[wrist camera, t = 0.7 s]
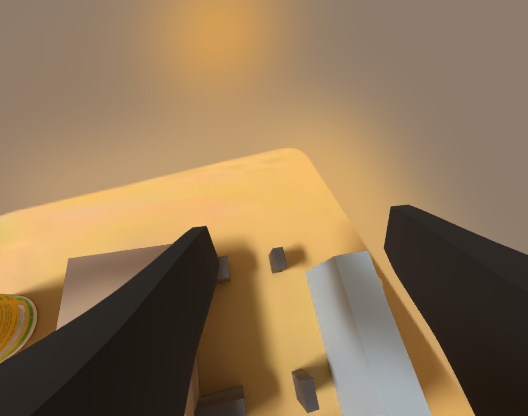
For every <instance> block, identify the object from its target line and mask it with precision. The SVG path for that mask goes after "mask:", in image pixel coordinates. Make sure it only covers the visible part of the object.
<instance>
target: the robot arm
mask: <svg viewBox="0 0 528 416" xmlns="http://www.w3.org/2000/svg"><path fill="white" fill-rule="evenodd" d="M384 250H385V252H386V254H387V256H388V259H389V261H390V263H391V265H392V267H393V269H394V271H395V273H396V275H397V276H398V278H399V280H400V281H401V283H402V284H403V286H404V288H405V289H406V291H407V292H408V294H409V295H410V297H411V299H412V300H413V302H414V303H415V305H416V307H417V308H418V310H419V311H420V313H421V314H422V316H423V318H424V319H425V321H426V322H427V324H428V325H429V327H430V329H431V330H432V332H433V333H434V335H435V337H436V339H437V340H438V342H439V344H440V346H441V348H442V350H443V352H444V353H445V355H446V357H447V359H448V361H449V363H450V365H451V367H452V369H453V371H454V373H455V375H456V377H457V379H458V381H459V383H460V385H461V387H462V389H463V391H464V393H465V395H466V397H467V399H468V401H469V404H470V406H471V408H472V410H473V412H474V414H475V416H528V255H527V254H524V253H521V252H519V251H516V250H514V249H511V248H509V247H506V246H504V245H501V244H499V243H496V242H494V241H491V240H489V239H487V238H485V237H482V236H480V235H477V234H475V233H473V232H471V231H468V230H466V229H464V228H461V227H459V226H457V225H455V224H452V223H450V222H448V221H446V220H444V219H441V218H439V217H437V216H435V215H432V214H430V213H428V212H426V211H423V210H421V209H418V208H415V207H413V206H410V205H400V206H391V209H390V214H389V220H388V226H387V232H386V238H385V244H384ZM218 269H219V260H218V257H217V254H216V251H215V248H214V245H213V243H212V240H211V237H210V234H209V231H208V229H207V226H202V227H193V228H191V229H190V230H189V231H187V232H186V233H185V234H184V235H182V236H181V237H180V238H179V239H178V240H177V241H175V242H174V243H173V244H172V245H171V246H170V247H169V248H167V249H166V250H165V251H164V252H163V253H162V254H160V255H159V256H158V257H157V258H156V259H155V260H154V261H152V262H151V263H150V264H149V265H147V266H146V267H145V268H144V269H143V270H141V271H140V272H139V273H138V274H136V275H135V276H134V277H133V278H131V279H130V280H129V281H128V282H126V283H125V284H124V285H122V286H121V287H120V288H119V289H117V290H116V291H114V292H113V293H112V294H110V295H109V296H108V297H106V298H105V299H103V300H102V301H100V302H99V303H98V304H96V305H95V306H93V307H92V308H90V309H89V310H87V311H86V312H84V313H83V314H81V315H80V316H78V317H77V318H75V319H73V320H72V321H70V322H69V323H67V324H66V325H64V326H62V327H61V328H59V329H58V330H56V331H54V332H53V333H51V334H50V335H48V336H47V337H45V338H43V339H42V340H40V341H38V342H37V343H35V344H33V345H32V346H30V347H28V348H26V349H25V350H23V351H21V352H20V353H18V354H16V355H14V356H13V357H11V358H9V359H7V360H5V361H4V362H2V363H0V416H184V415H185V409H186V404H187V398H188V392H189V387H190V381H191V376H192V372H193V367H194V362H195V357H196V352H197V348H198V344H199V340H200V337H201V334H202V330H203V327H204V324H205V320H206V317H207V314H208V310H209V307H210V303H211V300H212V297H213V293H214V290H215V286H216V281H217V275H218Z"/></svg>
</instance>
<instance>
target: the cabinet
mask: <svg viewBox="0 0 528 416" xmlns="http://www.w3.org/2000/svg"><path fill="white" fill-rule="evenodd" d="M171 245H172V244H168V245H161V246H154V247H147V248H140V249H133V250H126V251H119V252H112V253H105V254H97V255H90V256H83V257H76V258H69V259H68V264H67V270H66V276H65V281H64V287H63V293H62V299H61V304H60V310H59V316H58V322H57V328H56V330H58V329H59V328H61V327H62V326H64V325H66V324H67V323H69V322H70V321H72V320H73V319H75V318H77V317H78V316H80V315H81V314H83V313H84V312H86V311H87V310H89V309H90V308H92V307H93V306H95V305H96V304H98V303H99V302H100V301H102V300H103V299H105V298H106V297H108V296H109V295H110V294H112V293H113V292H114V291H116V290H117V289H119V288H120V287H121V286H122V285H124V284H125V283H126V282H128V281H129V280H130V279H131V278H133V277H134V276H135V275H136V274H138V273H139V272H140V271H141V270H143V269H144V268H145V267H146V266H147V265H149V264H150V263H151V262H152V261H154V260H155V259H156V258H157V257H158V256H159V255H160V254H162V253H163V252H164V251H165V250H166V249H167V248H169V247H170V246H171ZM218 260H219V269H218V275H217V281H216V283H222V282H227V281H230V277H229V269H228V261H227V256H223V257H218ZM269 260H270V265H271V270H272V273H277V272H281V271H282V270H284V269H285V268H286V267H287V265H286V260H285V256H284V251H283V247H279V248H273V249H272V251H271V252H270V254H269ZM292 375H293V380H294V385H295V390H296V395H297V399H298V401H299V402H300V403H301V405H302V406H303V408H304V409H305V410H306V412H307V413H309V412H313V411H316V410H319V405H318V400H317V396H316V392H315V387H314V383H313V378H312V377H311V376H309V375H308V374H307V373H306V372H305V371H304V370H302V369H301V370H297V371H294V372H292ZM184 416H246V409H245V401H244V393H243V386H240V387H236V388H232V389H229V390H225V391H222V392H218V393H214V394H211V395H207V396H204V397H200V395H199V377H198V359H197V352H196V357H195V362H194V367H193V372H192V376H191V381H190V387H189V392H188V398H187V404H186V409H185V415H184Z"/></svg>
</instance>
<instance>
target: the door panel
mask: <svg viewBox="0 0 528 416" xmlns="http://www.w3.org/2000/svg"><path fill="white" fill-rule="evenodd" d="M305 274H306V278H307V282H308V285H309V289H310V293H311V297H312V301H313V305H314V309H315V313H316V316H317V320H318V324H319V328H320V332H321V336H322V340H323V343H324V347H325V351H326V355H327V359H328V363H329V367H330V371H331V374H332V378H333V382H334V386H335V390H336V394H337V398H338V401H339V405H340V409H341V413H342V416H432V415H431V412H430V410H429V407H428V404H427V402H426V399H425V397H424V394H423V391H422V389H421V386H420V384H419V381H418V379H417V376H416V373H415V371H414V368H413V366H412V363H411V360H410V358H409V355H408V353H407V350H406V348H405V345H404V342H403V340H402V337H401V335H400V332H399V329H398V327H397V324H396V322H395V319H394V317H393V314H392V311H391V309H390V306H389V304H388V301H387V299H386V296H385V293H384V291H383V281H382V279H381V278H380V277H379V276H378V275H377V273H376V270H375V268H374V265H373V262H372V260H371V257H370V255H369V252H368V250H367V251H361V252H356V253H350V254H344V255H339V256H334V257H332V258H330V259H328V260H327V261H325V262H323V263H321V264H319V265H317V266H315V267H314V268H312V269H310V270H308V271H306V272H305Z"/></svg>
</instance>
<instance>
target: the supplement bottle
mask: <svg viewBox="0 0 528 416" xmlns="http://www.w3.org/2000/svg"><path fill="white" fill-rule="evenodd" d="M36 323H37V310H36V307H35V305H34V303H33V302H32V301H31V300H29V299H28V298H26V297H23V296H19V295H10V294H0V362H2V361H4V360H5V359H7V358H9V357H10V356H12V355H13V354H15V353H16V352H17V351H18V350H19V349H21V348H22V347H23V346H24V344H25V343H26V342H27V341H28V340H29V338H30V337H31V335H32V333H33V331H34V329H35V326H36Z"/></svg>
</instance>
